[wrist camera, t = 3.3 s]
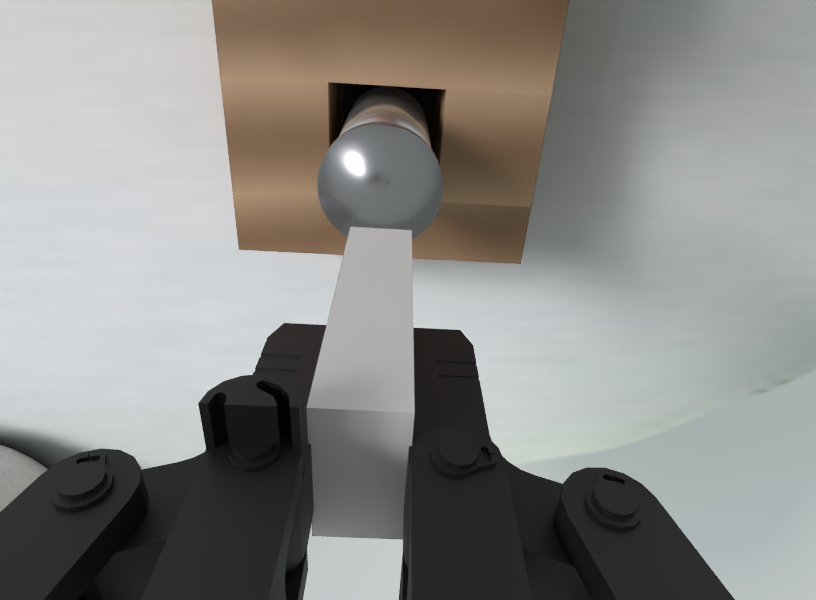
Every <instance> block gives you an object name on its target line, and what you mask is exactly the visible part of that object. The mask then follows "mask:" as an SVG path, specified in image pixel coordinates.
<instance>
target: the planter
mask: <svg viewBox="0 0 816 600" xmlns="http://www.w3.org/2000/svg"><path fill="white" fill-rule="evenodd" d="M47 470H48V469H47V468H46V467H44V466H43V465H42V464H40V463H38V462H37V461H35V460H34V459H32V458H30V457H28V456H26V455H24V454H22V453H20V452H18V451H16V450H14V449H11V448H9V447H6V446H3V445H0V512H1V511H2V510H3V509H4V508H5V507H6V506H7V505H8V504H9V503H11V502H12V501H13V500H14V499H15V498H16V497H17V496H18V495H19V494H20V493H21V492H23V491H24V490H25V489H26V488H27V487H28V486H29V485H30V484H31V483H32V482H33V481H34V480H36V479H37V478H38V477H39V476H40V475H41V474H43V473H44V472H45V471H47Z"/></svg>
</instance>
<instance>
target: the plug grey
mask: <svg viewBox="0 0 816 600" xmlns="http://www.w3.org/2000/svg"><path fill="white" fill-rule="evenodd" d="M317 190H318V197H319V201H320V204H321V207H322V209H323V211H324V213H325V215H326V217H327V218H328V220H329V221H330V222H331V224H332V225H333V226H334V227H335V228H336V229H337V230H338V231H339V232H341V233H342V234H343V235H345V236H346V237H348V235H349V230H350V227H363V228H381V229H399V230H412V239H414V238H415V237H417V236H418V235H420V234H421V233H422V232H423V231H424V230H425V229H426V228H427V227H428V226H429V225H430V224H431V223H432V221H433V220H434V218H435V216H436V215H437V213H438V210H439V208H440V205H441V202H442V196H443V179H442V173H441V169H440V165H439V162H438V160H437V157H436V156H435V154H434V152H433V150H432V148H431V142H430V136H429V130H428V125H427V120H426V116H425V113H424V111H423V109H422V107H421V105H420V104H419V103H418V101H417V100H416V99H415V98H414V97H413V96H411V95H410V94H409V93H407V92H405V91H403V90H401V89H398V88H394V87H379V88H375V89H372V90H370V91H367V92H366V93H364V94H363V95H362V96H360V97H359V98H358V99H357V100H356V102H355V103H354V104H353V106H352V108H351V110H350V112H349V114H348V117H347V119H346V121H345V124H344V126H343V128H342V131H341V133H340V135H339V137H338V138H337V139H336V140H335V141H334V142H333V143H332V144H331V146H330V147H329V149H328V150H327V152H326V154H325V156H324V158H323V160H322V162H321V165H320V168H319V173H318V178H317Z"/></svg>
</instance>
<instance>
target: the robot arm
mask: <svg viewBox="0 0 816 600" xmlns="http://www.w3.org/2000/svg"><path fill="white" fill-rule="evenodd" d="M198 404H199V410H200V415H201V421H202V427H203V432H204V438H205V444H206V451H205V453H202V454H200V455H198V456H196V457H194V458H191V459H188V460H184V461H181V462H177V463H172V464H167V465H162V466H158V467H153V468H148V469H143V470H141V467H140V466H139V464H138V463H137V461H136V459H135V458H134V457H133V456H131V455H129V454H127V453H125V452H123V451H121V450H112V449H97V450H92V451H87V452H82V453H79V454H76V455H74V456H71V457H69V458H67V459H64V460H62V461H60V462H58V463H57V464H55V465H54V466H52V467H51V468H50V469H48V470H47V471H45V472H44V473H43V474H41V475H40V476H39V477H38V478H37V479H36V480H34V481H33V482H32V483H31V484H30V485H29V486H28V487H27V488H26V489H25V490H24V491H23V492H21V493H20V494H19V495H18V496H17V497H16V498H15V499H14V500H13V501H12V502H11V503H9V504H8V505H7V506H6V507H5V508H4V509H3V510H2V511H1V512H0V600H303V594H304V589H305V583H306V577H307V571H308V561H307V544H308V539H309V533H310V528H311V522H312V536H329V537H354V538H380V539H403V558H402V570H401V581H400V593H399V600H735V599H734V598H733V597H732V595H731V594H730V593H729V592H728V590H727V589H726V588H725V586H724V585H723V584H722V583H721V581H720V580H719V579H718V577H717V576H716V575H715V574H714V572H713V571H712V570H711V568H710V567H709V566H708V565H707V563H706V562H705V560H704V559H703V558H702V557H701V555H700V554H699V553H698V551H697V550H696V549H695V548H694V546H693V545H692V544H691V542H690V541H689V540H688V538H686V536H685V535H684V533H683V532H682V531H681V529H680V528H679V527H678V526H677V524H676V523H675V522H674V520H673V519H672V518H671V516H670V515H669V514H668V513H667V511H666V510H665V509H664V507H663V506H662V505H661V504H660V502H659V501H658V500H657V498H656V497H655V496H654V495H653V494H652V493H651V492H650V491H648V489H646V488H645V487H644V486H643V485H642V484H641V483H639V482H638V481H636V480H634V479H632V478H631V477H629V476H627V475H626V474H624V473H620V472H617V471H614V470H610V469H607V468H584V469H582V470H579V471H576V472H573V473H572V474H571V475H570V476H569V477H568V478H567V480H566V481H565V482H564V483H563V484H561V483H558V482H555V481H551V480H548V479H545V478H542V477H538V476H535V475H533V474H530V473H528V472H525V471H522V470H520V469H519V468H517V467H516V466H514V465H512V464H511V463H509V462H508V461H507V460H506V459H505V458H504V457H503V456H502V455H501V453H500V450H499V448H498V447H497V446H496V445H495V444H494V443H493V442H492V441H491V438H490V435H489V430H488V425H487V419H486V414H485V408H484V403H483V397H482V392H481V386H480V381H479V375H478V370H477V366H476V359H475V354H474V348H473V345H472V344H471V342H470V341H469V340H468V339H467V338H466V337H465V335H464V334H463V333H462V332H461V331H460V330H446V329H426V328H413V276H412V230H399V229H381V228H363V227H350V230H349V235H348V239H347V243H346V247H345V251H344V255H343V259H342V263H341V268H340V272H339V276H338V280H337V284H336V288H335V292H334V296H333V300H332V305H331V309H330V313H329V317H328V321H327V325H310V324H290V323H284V324H283V325H282V326H280V327H279V328H278V329H277V330H276V331H275V332H273V333H272V334H271V335H270V336H269V337H268V338H267V341H266V343H265V346H264V348H263V351H262V353H261V357H260V358H259V361H258V363H257V365H256V368H255V372H254V373H253V375H247V376H240V377H237V378H233V379H230V380H227V381H224V382H222V383H221V384H219V385H217V386H216V387H214V388H212V389H211V390H209V391H208V392H207V393H206V395H205V396H204V397H203V398H202V399H201V401H200V402H199V403H198Z"/></svg>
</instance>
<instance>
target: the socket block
mask: <svg viewBox="0 0 816 600" xmlns="http://www.w3.org/2000/svg"><path fill="white" fill-rule="evenodd" d="M568 3H569V0H212V6H213V15H214V24H215V34H216V43H217V52H218V61H219V70H220V80H221V89H222V98H223V107H224V116H225V126H226V135H227V144H228V153H229V162H230V172H231V181H232V190H233V199H234V208H235V218H236V227H237V236H238V245H239V250H257V251H277V252H297V253H317V254H337V255H344V251H345V247H346V243H347V239H348V237H346V236H345V235H343V234H342V233H341V232H339V231H338V230H337V229H336V228H335V227H334V226H333V225H332V224H331V222H330V221H329V220H328V218H327V217H326V215H325V213H324V211H323V209H322V207H321V204H320V201H319V197H318V190H317V178H318V173H319V168H320V165H321V162H322V160H323V158H324V156H325V154H326V152H327V150H328V149H329V147H330V146H331V144H332V143H333V142H334V141H335V140H336V139H337V138H338V137H339V135H340V133H341V131H342V83H350V84H366V85H382V86H398V87H414V88H430V89H437V96H436V108H435V120H434V133H433V145H432V150H433V152H434V154H435V156H436V157H437V160H438V162H439V165H440V169H441V173H442V179H443V196H442V202H441V205H440V208H439V210H438V213H437V215H436V216H435V218H434V220H433V221H432V223H431V224H430V225H429V226H428V227H427V228H426V229H425V230H424V231H423V232H422V233H421V234H420V235H418V236H417V237H415V238H414V239H412V258H416V259H436V260H456V261H476V262H495V263H515V264H521V259H522V254H523V248H524V243H525V237H526V232H527V226H528V221H529V216H530V210H531V205H532V199H533V194H534V188H535V183H536V177H537V172H538V167H539V161H540V156H541V150H542V145H543V139H544V134H545V128H546V123H547V118H548V112H549V107H550V101H551V96H552V90H553V85H554V79H555V74H556V69H557V63H558V58H559V52H560V47H561V41H562V36H563V30H564V25H565V20H566V14H567V9H568Z"/></svg>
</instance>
